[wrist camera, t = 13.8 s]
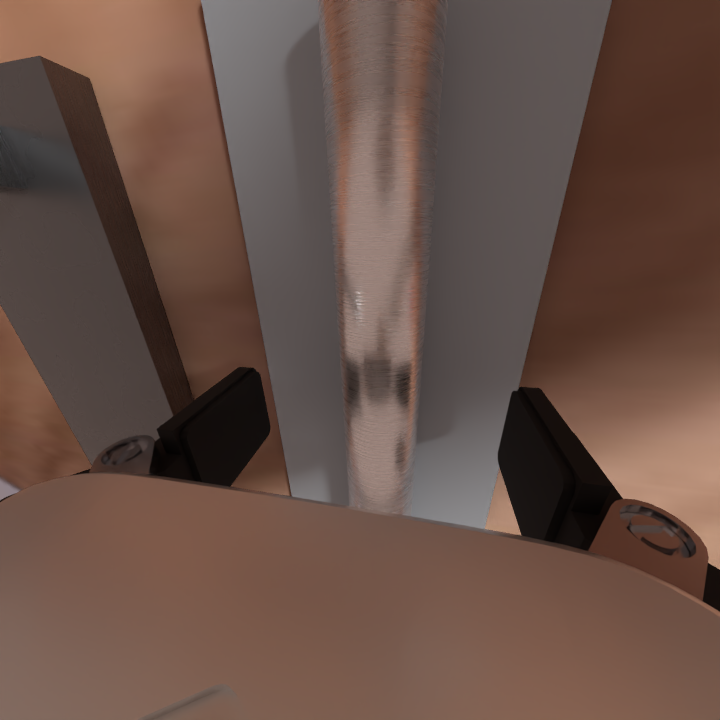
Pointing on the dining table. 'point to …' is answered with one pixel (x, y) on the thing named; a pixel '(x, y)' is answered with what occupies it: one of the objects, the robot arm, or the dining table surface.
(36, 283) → the hook stand
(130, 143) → the dining table surface
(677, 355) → the dining table surface
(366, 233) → the steel rail
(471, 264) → the mat
